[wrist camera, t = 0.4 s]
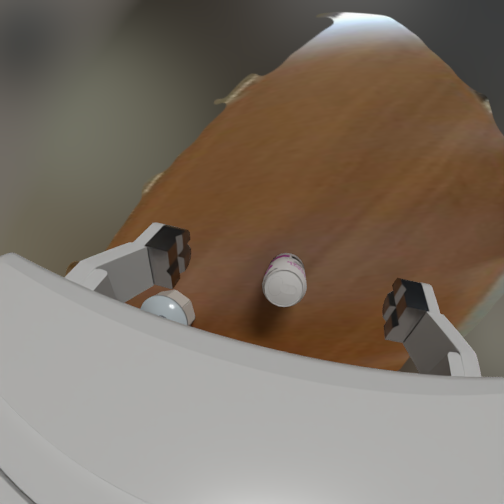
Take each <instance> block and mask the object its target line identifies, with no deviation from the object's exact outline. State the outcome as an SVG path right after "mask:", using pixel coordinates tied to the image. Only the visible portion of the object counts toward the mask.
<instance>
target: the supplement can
mask: <svg viewBox="0 0 504 504" xmlns="http://www.w3.org/2000/svg"><path fill="white" fill-rule="evenodd" d="M262 288H263V293H264V295H265V297H266V298H267V299H268V300H269V301H270V302H271V303H272V304H274V305H277V306H279V307H289V306H293V305H295V304H296V303H298V302H299V301H301V299H302V298H303V296H304V295H305V292H306V288H307V286H306V277H305V270H304V265H303V263H302V261H301V260H300V259H299V258H298V257H297V256H295V255H293V254H291V253H283V254H279V255H278V256H276V257H275V258H273V260H272V261H271V263H270V265H269V267H268V269H267V271H266V274H265V276H264V279H263V283H262Z"/></svg>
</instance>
